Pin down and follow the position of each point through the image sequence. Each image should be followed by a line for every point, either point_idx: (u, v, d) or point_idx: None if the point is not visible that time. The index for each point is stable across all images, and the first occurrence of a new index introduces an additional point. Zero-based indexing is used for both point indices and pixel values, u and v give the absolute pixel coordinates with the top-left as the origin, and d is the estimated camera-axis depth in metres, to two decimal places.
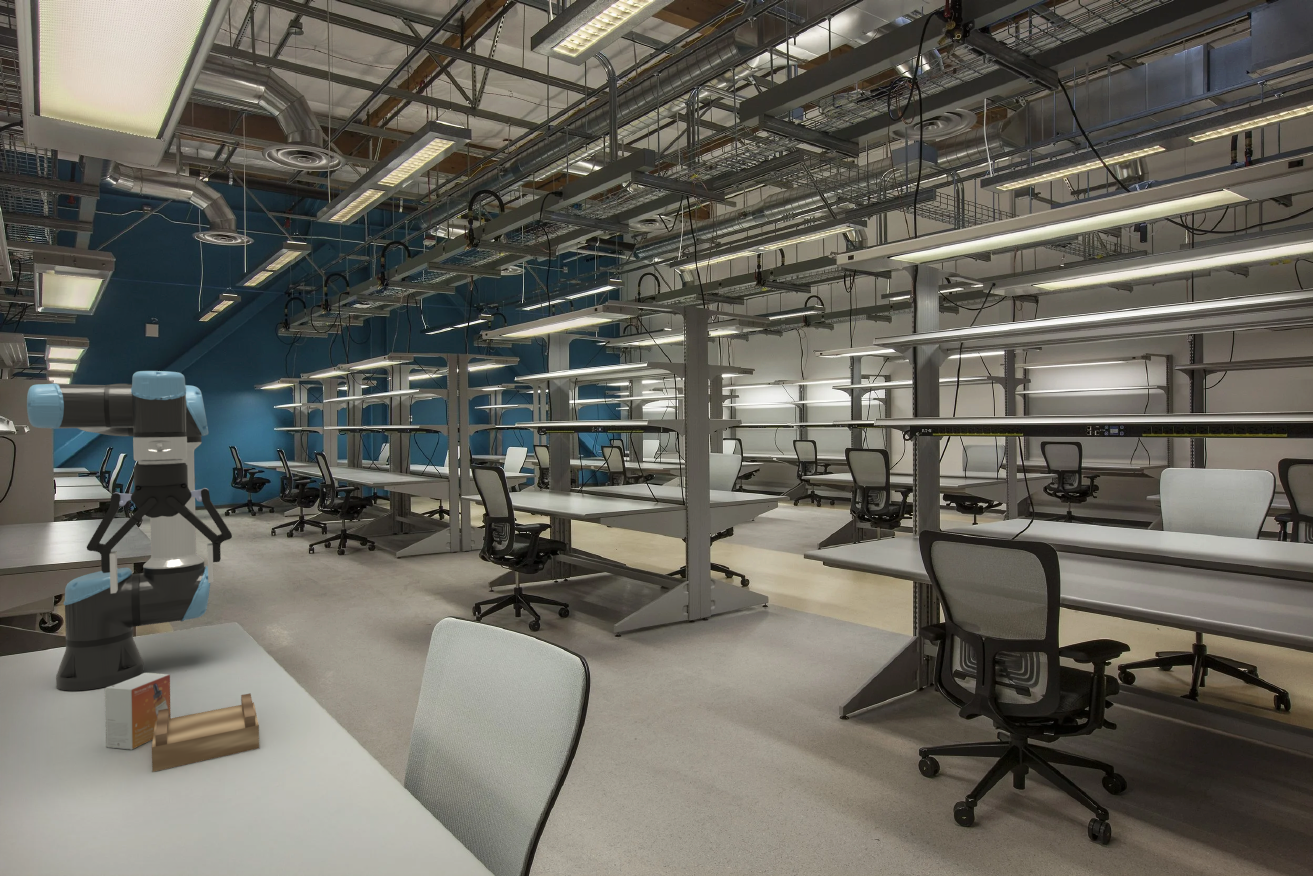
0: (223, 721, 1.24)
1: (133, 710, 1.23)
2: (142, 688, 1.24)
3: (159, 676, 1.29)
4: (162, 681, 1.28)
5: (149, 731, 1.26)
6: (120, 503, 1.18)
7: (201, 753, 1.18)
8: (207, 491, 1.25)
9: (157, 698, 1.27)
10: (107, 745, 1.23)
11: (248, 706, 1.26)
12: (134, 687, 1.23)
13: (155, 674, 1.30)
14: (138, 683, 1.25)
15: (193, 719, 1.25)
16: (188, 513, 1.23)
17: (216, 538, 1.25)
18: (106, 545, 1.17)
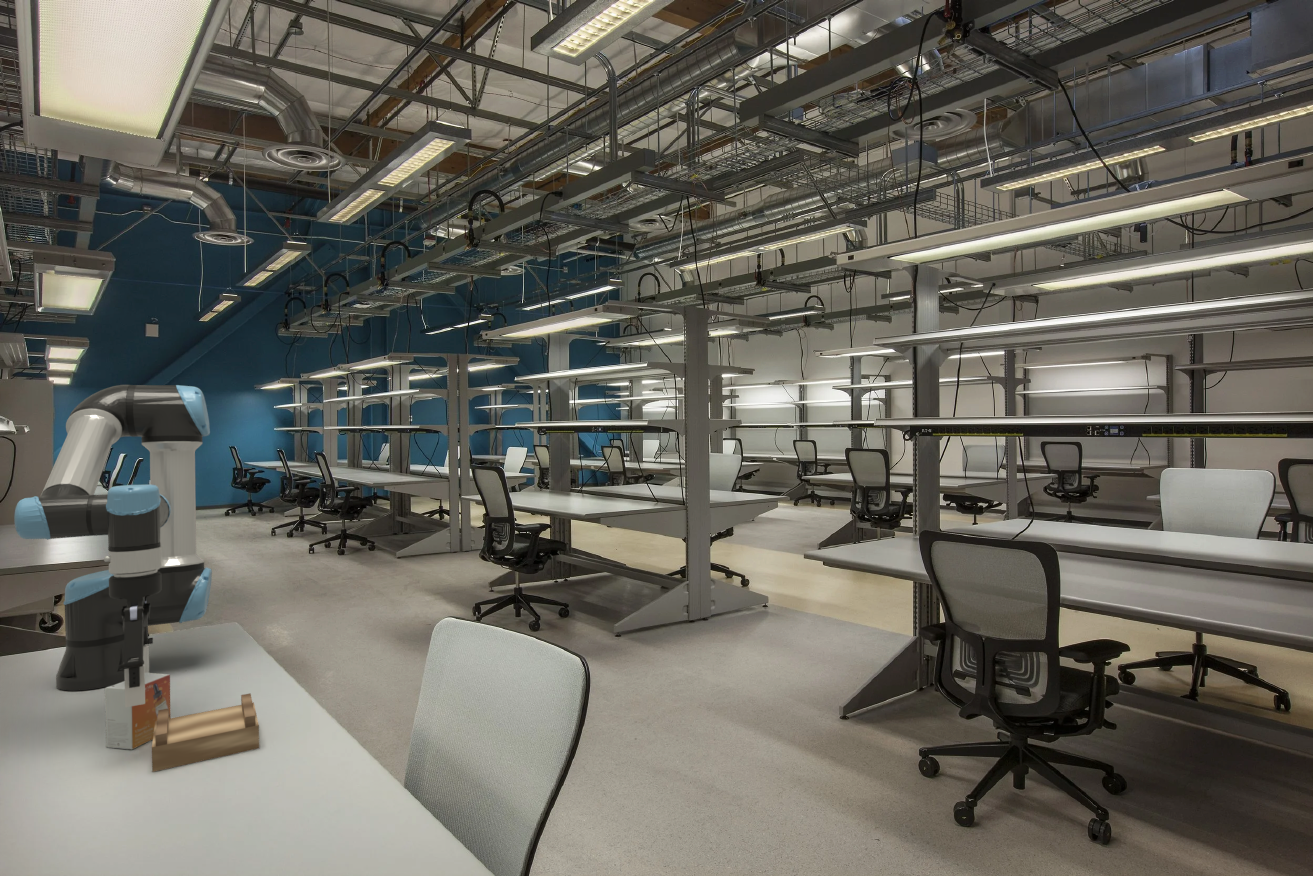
0: (223, 721, 1.24)
1: (133, 710, 1.23)
2: None
3: (159, 676, 1.29)
4: (162, 681, 1.28)
5: (149, 731, 1.26)
6: None
7: (201, 753, 1.18)
8: (124, 611, 1.20)
9: (157, 698, 1.27)
10: (107, 745, 1.23)
11: (248, 706, 1.26)
12: None
13: (155, 674, 1.30)
14: None
15: (193, 719, 1.25)
16: (123, 629, 1.22)
17: None
18: None
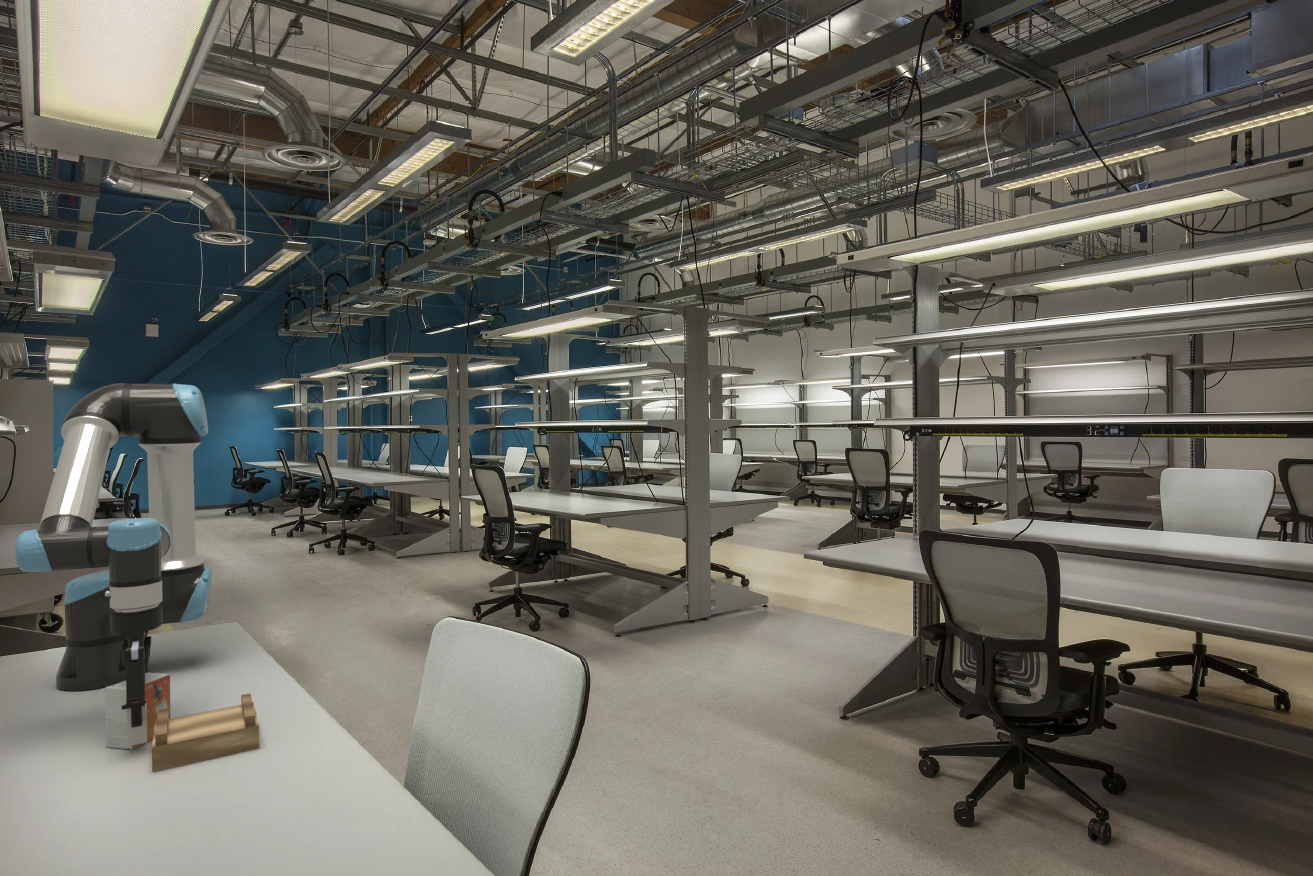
0: (223, 721, 1.24)
1: None
2: None
3: (159, 676, 1.29)
4: (162, 681, 1.28)
5: (149, 730, 1.26)
6: None
7: (201, 753, 1.18)
8: (125, 652, 1.20)
9: (157, 698, 1.27)
10: (107, 745, 1.23)
11: (248, 706, 1.26)
12: None
13: (155, 674, 1.30)
14: None
15: (193, 719, 1.25)
16: (124, 666, 1.23)
17: None
18: None
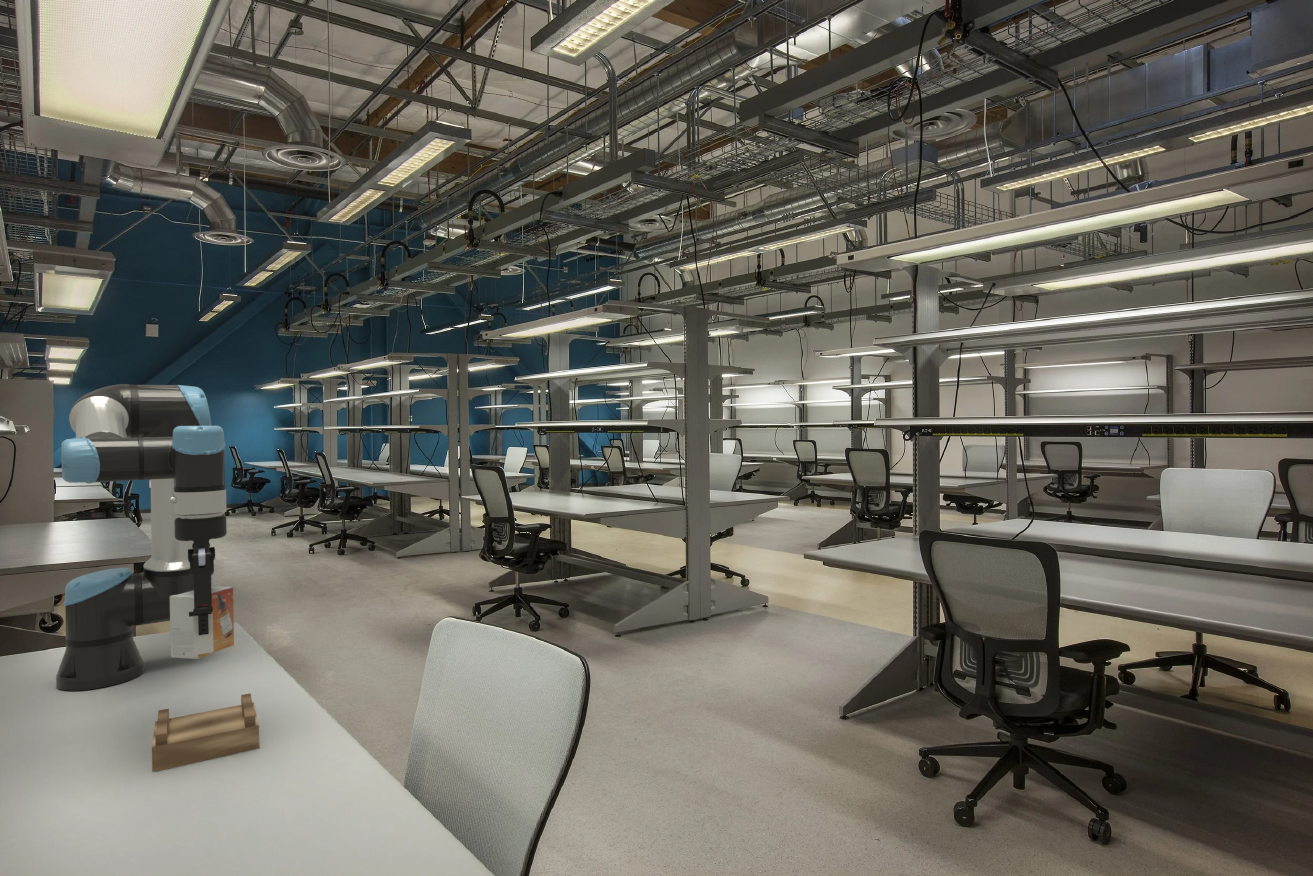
0: (223, 721, 1.24)
1: None
2: None
3: (223, 588, 1.25)
4: (226, 593, 1.25)
5: (214, 642, 1.22)
6: None
7: (201, 753, 1.18)
8: (193, 557, 1.17)
9: (221, 609, 1.24)
10: (172, 655, 1.20)
11: (248, 706, 1.26)
12: None
13: (218, 586, 1.26)
14: None
15: (193, 719, 1.25)
16: (190, 573, 1.19)
17: None
18: None
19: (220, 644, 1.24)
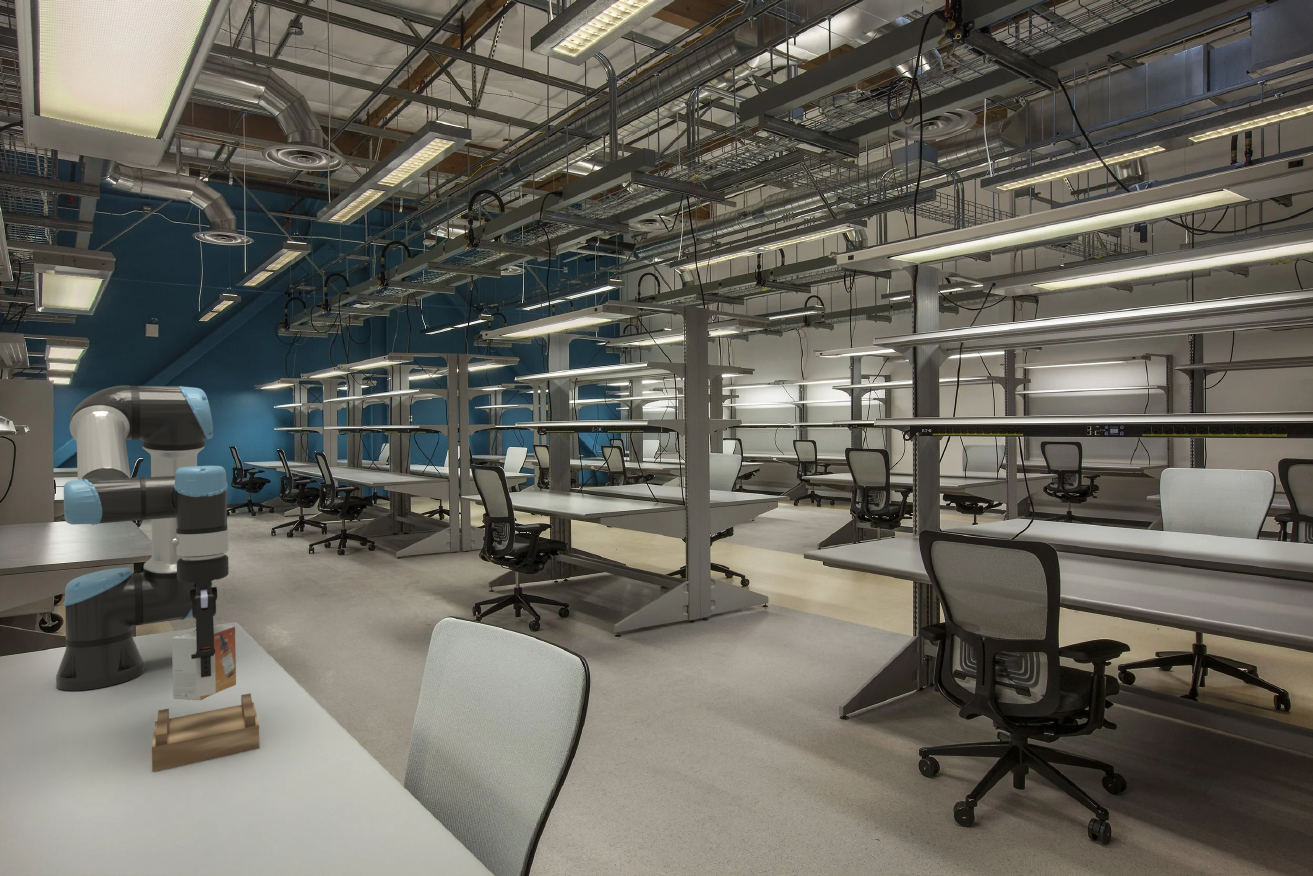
0: (223, 721, 1.24)
1: None
2: None
3: (225, 627, 1.25)
4: (228, 633, 1.25)
5: (216, 682, 1.22)
6: None
7: (201, 753, 1.18)
8: (195, 599, 1.17)
9: (223, 649, 1.24)
10: (174, 696, 1.20)
11: (248, 706, 1.26)
12: None
13: (220, 626, 1.26)
14: None
15: (193, 719, 1.25)
16: (192, 615, 1.20)
17: None
18: None
19: (223, 684, 1.24)
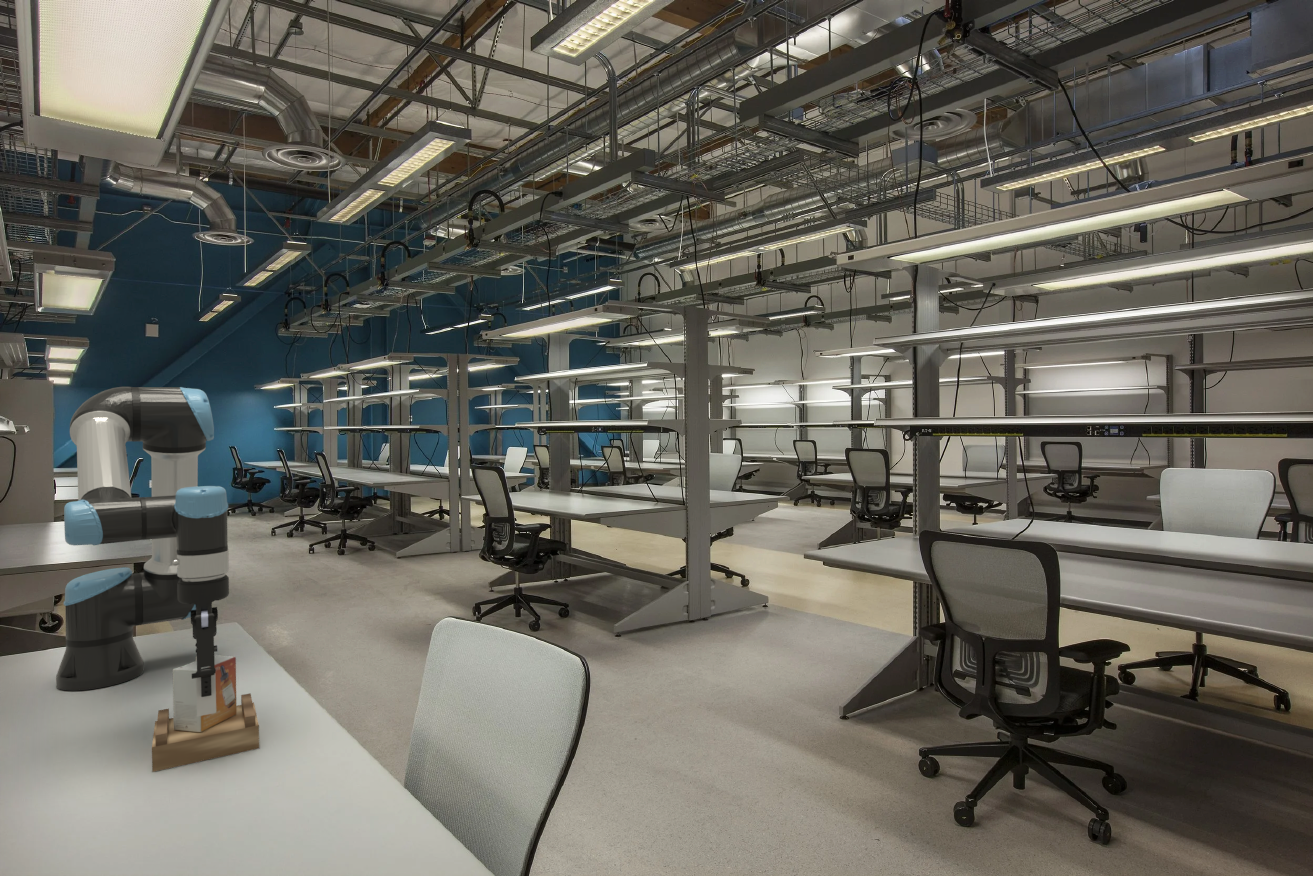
0: (223, 721, 1.24)
1: None
2: None
3: (225, 658, 1.26)
4: (228, 663, 1.25)
5: (217, 713, 1.23)
6: None
7: (201, 753, 1.18)
8: (196, 618, 1.17)
9: (224, 680, 1.24)
10: (175, 728, 1.21)
11: (248, 706, 1.26)
12: (202, 668, 1.20)
13: (221, 656, 1.27)
14: None
15: None
16: (193, 635, 1.19)
17: None
18: None
19: (223, 715, 1.24)
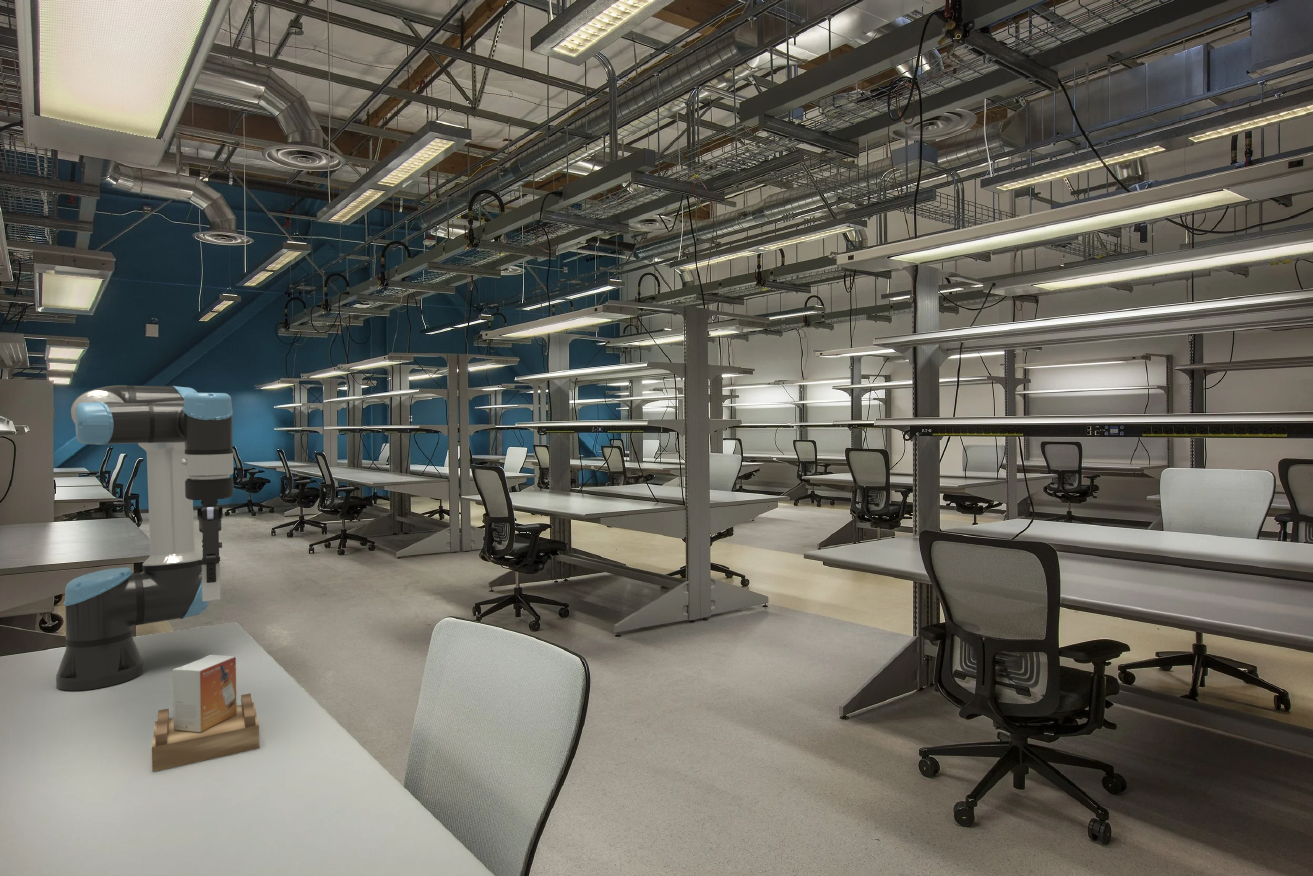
0: (223, 721, 1.24)
1: (201, 692, 1.20)
2: (210, 670, 1.22)
3: (225, 658, 1.26)
4: (228, 664, 1.25)
5: (217, 713, 1.23)
6: None
7: (201, 753, 1.18)
8: (202, 510, 1.25)
9: (224, 680, 1.24)
10: (175, 728, 1.21)
11: (248, 706, 1.26)
12: (202, 668, 1.20)
13: (221, 656, 1.27)
14: (205, 664, 1.23)
15: None
16: (199, 528, 1.28)
17: None
18: None
19: (223, 715, 1.24)
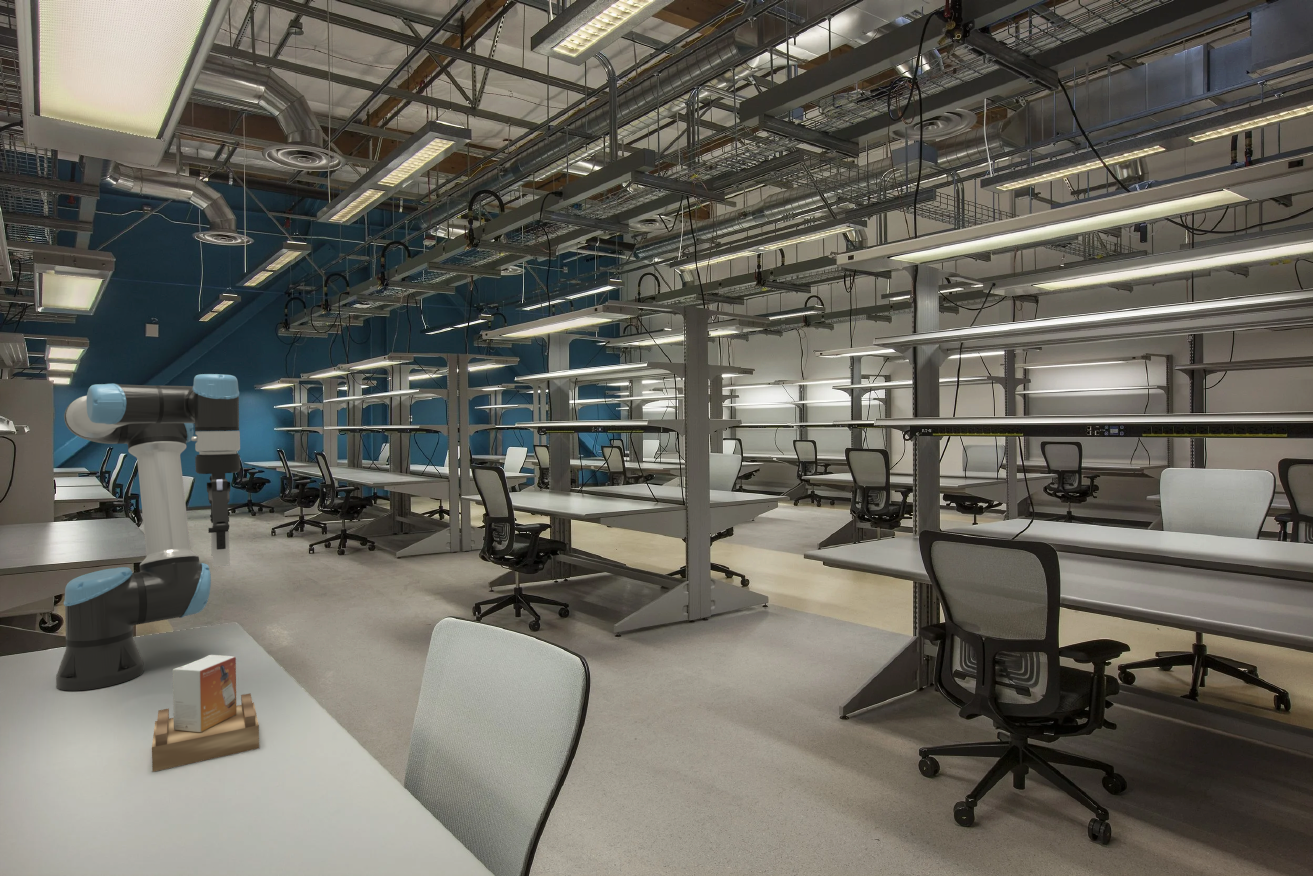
0: (223, 721, 1.24)
1: (201, 692, 1.20)
2: (210, 670, 1.22)
3: (225, 658, 1.26)
4: (228, 664, 1.25)
5: (217, 713, 1.23)
6: None
7: (201, 753, 1.18)
8: (212, 482, 1.35)
9: (224, 680, 1.24)
10: (175, 728, 1.21)
11: (248, 706, 1.26)
12: (202, 668, 1.20)
13: (221, 656, 1.27)
14: (205, 664, 1.23)
15: None
16: (209, 500, 1.37)
17: None
18: None
19: (223, 715, 1.24)
